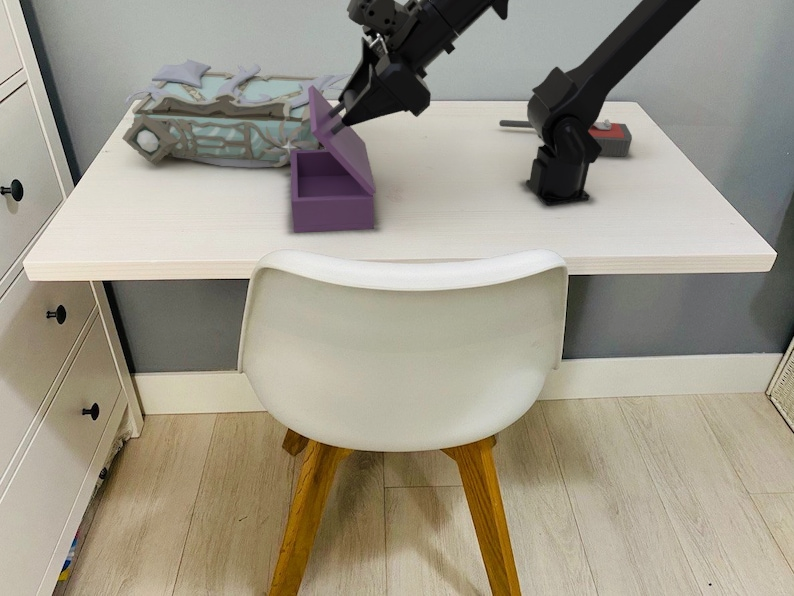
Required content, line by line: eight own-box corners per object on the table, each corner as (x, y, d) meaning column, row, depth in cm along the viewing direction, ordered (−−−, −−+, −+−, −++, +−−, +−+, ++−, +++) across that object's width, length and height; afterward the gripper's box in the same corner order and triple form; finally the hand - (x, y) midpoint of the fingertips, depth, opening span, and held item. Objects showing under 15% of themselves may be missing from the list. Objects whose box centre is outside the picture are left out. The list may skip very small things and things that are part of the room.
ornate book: (122, 175, 91) (337, 180, 89) (102, 108, 85) (332, 112, 83) (176, 113, 109) (355, 116, 107) (162, 53, 103) (353, 56, 101)
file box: (293, 232, 79) (291, 200, 76) (292, 179, 89) (290, 150, 87) (373, 228, 80) (373, 197, 77) (363, 177, 91) (362, 148, 88)
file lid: (311, 133, 71) (346, 104, 70) (307, 88, 82) (338, 62, 81) (371, 196, 77) (404, 170, 76) (360, 146, 88) (389, 123, 86)
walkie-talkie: (623, 134, 105) (497, 128, 105) (630, 107, 102) (501, 101, 102) (636, 158, 98) (501, 152, 98) (644, 130, 95) (505, 124, 95)
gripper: (383, -59, 75) (290, 38, 81) (406, -23, 61) (291, 94, 66) (443, 14, 81) (353, 101, 87) (478, 64, 67) (367, 164, 72)
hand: (342, 112), depth 78 cm, fingers closed on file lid, 6 cm apart
